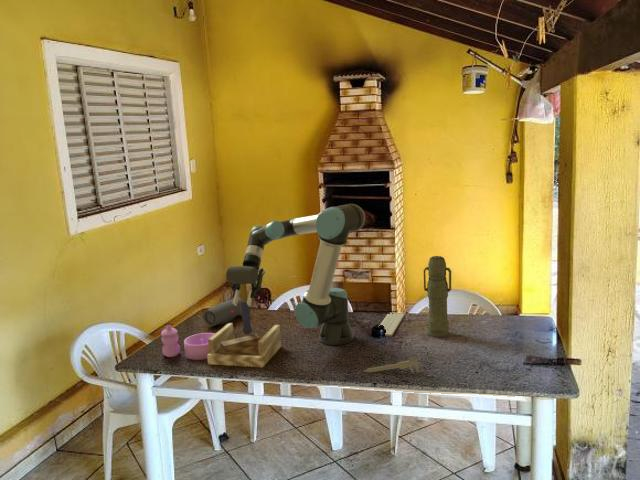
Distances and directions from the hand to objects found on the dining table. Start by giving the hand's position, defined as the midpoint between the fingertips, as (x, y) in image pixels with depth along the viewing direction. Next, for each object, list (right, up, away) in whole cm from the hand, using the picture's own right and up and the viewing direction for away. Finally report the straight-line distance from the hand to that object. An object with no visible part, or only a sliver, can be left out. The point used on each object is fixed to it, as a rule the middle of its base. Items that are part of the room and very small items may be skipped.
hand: (241, 304), depth 233 cm
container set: (-23, -22, +8) cm, 33 cm away
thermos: (+86, -15, +13) cm, 88 cm away
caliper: (+60, -23, -23) cm, 68 cm away
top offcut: (0, -17, -3) cm, 17 cm away
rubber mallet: (+2, -14, +6) cm, 15 cm away
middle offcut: (0, -20, -2) cm, 20 cm away
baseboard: (+65, -14, +30) cm, 73 cm away
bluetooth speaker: (-15, -14, +49) cm, 53 cm away
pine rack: (+2, -22, +3) cm, 22 cm away
